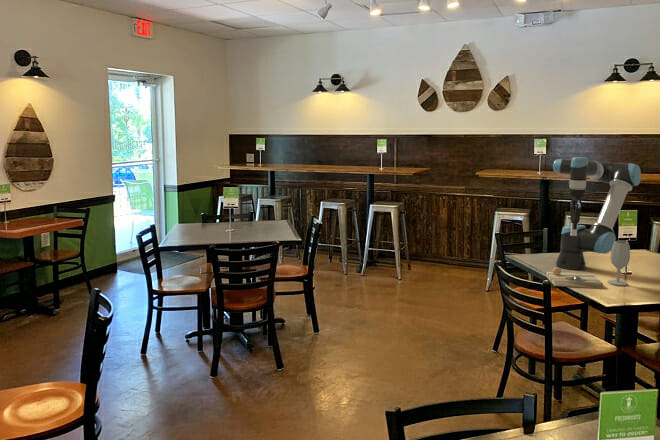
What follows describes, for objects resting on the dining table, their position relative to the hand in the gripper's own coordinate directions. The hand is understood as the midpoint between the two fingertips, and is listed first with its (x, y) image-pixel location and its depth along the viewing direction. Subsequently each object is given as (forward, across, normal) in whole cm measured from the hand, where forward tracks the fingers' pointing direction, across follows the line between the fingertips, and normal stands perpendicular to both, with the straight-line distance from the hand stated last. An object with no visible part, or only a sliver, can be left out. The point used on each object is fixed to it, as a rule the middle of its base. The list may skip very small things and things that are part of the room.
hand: (573, 235), depth 290 cm
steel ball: (+20, +12, 0) cm, 23 cm away
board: (+22, +7, 0) cm, 23 cm away
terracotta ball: (+18, +4, -8) cm, 20 cm away
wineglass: (+23, +6, +21) cm, 31 cm away
